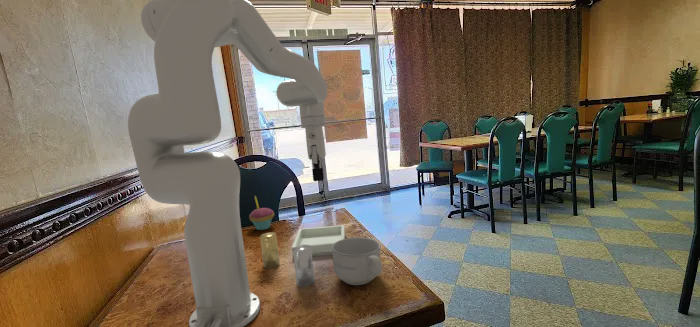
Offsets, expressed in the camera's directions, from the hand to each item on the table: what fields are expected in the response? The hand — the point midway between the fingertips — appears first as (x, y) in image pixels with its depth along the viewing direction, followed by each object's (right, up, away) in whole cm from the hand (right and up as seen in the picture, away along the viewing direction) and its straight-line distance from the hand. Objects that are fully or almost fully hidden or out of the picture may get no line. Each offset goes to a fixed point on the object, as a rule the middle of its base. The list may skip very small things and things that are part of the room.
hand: (318, 180), depth 97 cm
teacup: (+13, -21, -30) cm, 39 cm away
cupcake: (-21, -18, +11) cm, 29 cm away
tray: (+2, -18, -9) cm, 21 cm away
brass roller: (-10, -21, -19) cm, 30 cm away
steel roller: (0, -21, -29) cm, 36 cm away
